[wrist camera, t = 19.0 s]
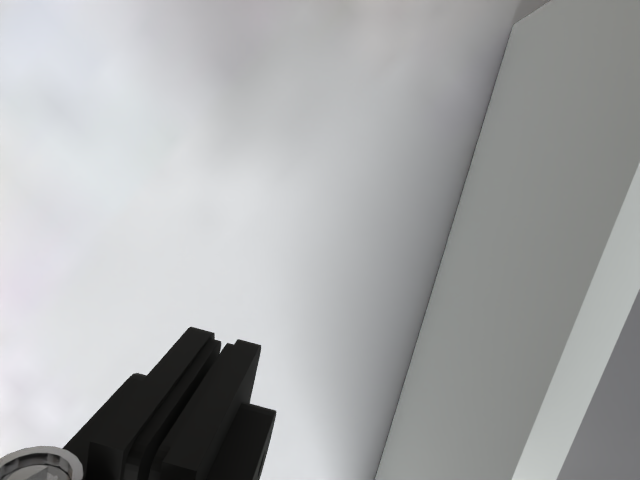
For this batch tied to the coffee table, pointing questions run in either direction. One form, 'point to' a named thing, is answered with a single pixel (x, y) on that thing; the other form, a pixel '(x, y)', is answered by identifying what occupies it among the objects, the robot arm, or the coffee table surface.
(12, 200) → the coffee table surface
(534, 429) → the sliding tray
